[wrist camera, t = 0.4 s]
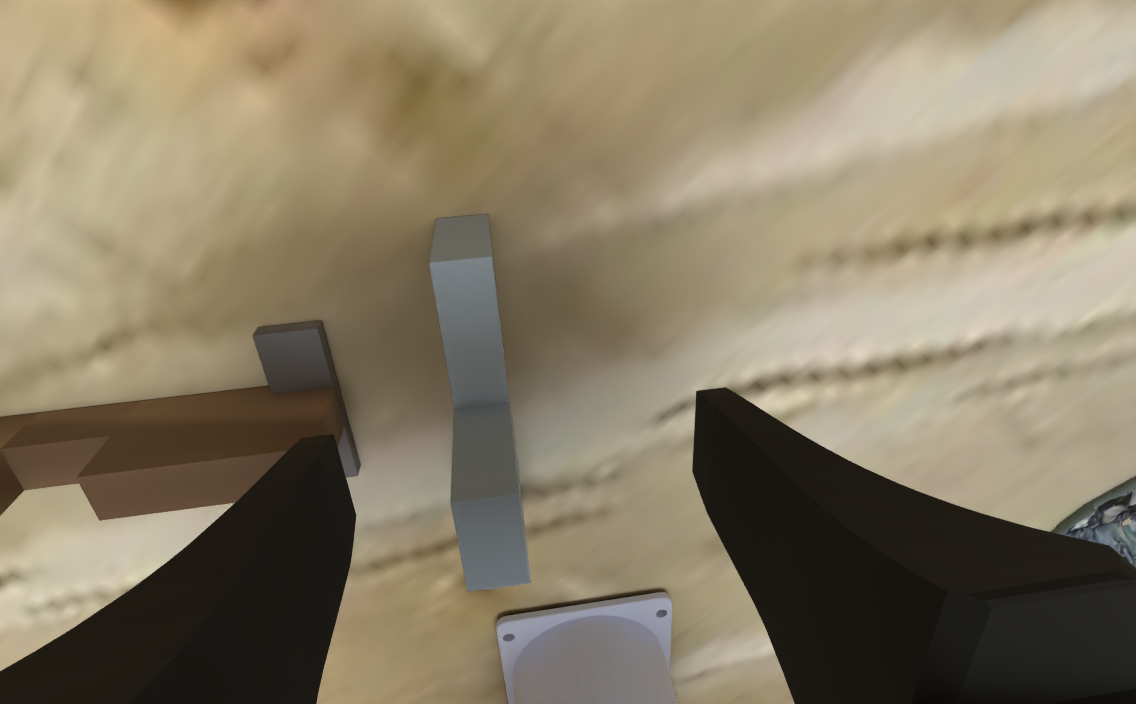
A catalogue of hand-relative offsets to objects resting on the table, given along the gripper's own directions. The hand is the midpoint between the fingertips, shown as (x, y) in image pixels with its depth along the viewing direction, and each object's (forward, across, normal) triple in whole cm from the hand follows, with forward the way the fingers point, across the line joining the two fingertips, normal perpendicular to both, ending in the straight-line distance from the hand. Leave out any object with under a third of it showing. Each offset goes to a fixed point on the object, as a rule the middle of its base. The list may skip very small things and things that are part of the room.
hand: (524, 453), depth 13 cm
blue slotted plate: (+10, +1, +4) cm, 10 cm away
